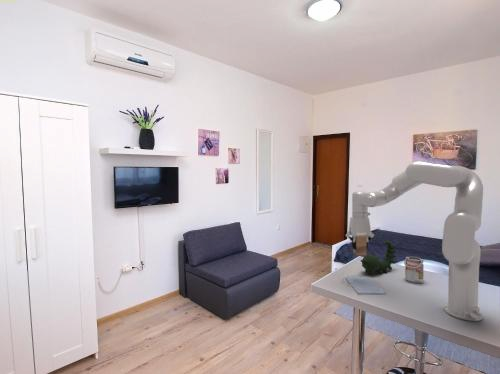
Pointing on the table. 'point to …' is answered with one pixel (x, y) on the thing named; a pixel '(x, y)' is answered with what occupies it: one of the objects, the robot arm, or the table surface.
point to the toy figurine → (379, 261)
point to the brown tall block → (360, 244)
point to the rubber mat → (364, 285)
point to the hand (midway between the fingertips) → (359, 248)
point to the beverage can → (414, 269)
